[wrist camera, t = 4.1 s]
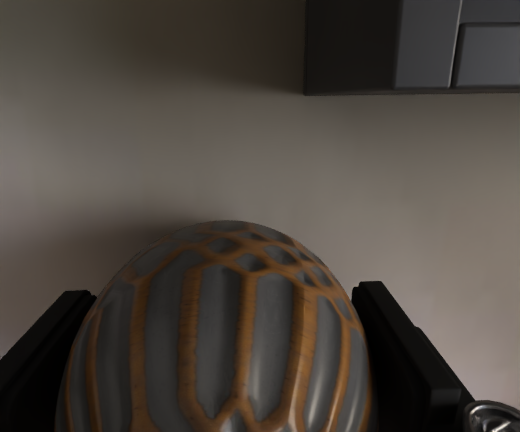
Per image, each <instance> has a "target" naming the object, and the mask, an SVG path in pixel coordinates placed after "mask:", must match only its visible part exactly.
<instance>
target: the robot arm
mask: <svg viewBox="0 0 520 432" xmlns="http://www.w3.org/2000/svg"><path fill="white" fill-rule="evenodd" d="M96 299H97V297H96V296H95V295H91V293H90V291H88V290H75V291H65V292H64V293H63V294H62V295H61V296H60V297H59V298H58V299H57V300H56V301H55V302H54V303H53V304H52V305H51V306H50V307H49V309H48V310H47V311H46V312H45V313H44V314H43V315H42V316H41V317H40V318H39V319H38V320H37V321H36V322H35V323H34V325H33V326H32V327H31V328H30V329H29V330H28V331H27V332H26V333H25V334H24V335H23V336H22V337H21V338H20V339H19V340H18V342H17V343H16V344H15V345H14V346H13V347H12V348H11V349H10V350H9V351H8V352H7V353H6V354H5V355H4V356H3V357H2V359H1V360H0V432H54V419H55V412H56V405H57V399H58V393H59V388H60V384H61V380H62V376H63V372H64V368H65V365H66V362H67V359H68V356H69V353H70V350H71V347H72V344H73V341H74V339H75V337H76V335H77V333H78V330H79V328H80V326H81V324H82V322H83V320H84V318H85V316H86V315H87V313H88V311H89V310H90V308H91V307H92V305H93V304H94V302H95V301H96ZM351 302H352V304H353V306H354V308H355V310H356V312H357V314H358V316H359V319H360V321H361V323H362V325H363V328H364V330H365V333H366V336H367V339H368V342H369V346H370V350H371V353H372V358H373V362H374V368H375V374H376V382H377V392H378V408H379V430H378V432H520V411H519V410H517V409H516V408H514V407H511V406H508V405H506V404H503V403H500V402H495V401H490V400H479V401H475V399H474V398H473V397H472V395H471V394H470V393H469V391H468V390H467V389H466V388H465V386H464V385H463V384H462V382H461V381H460V380H459V378H458V377H457V376H456V374H455V373H454V372H453V370H452V369H451V368H450V367H449V365H448V364H447V363H446V361H445V360H444V359H443V357H442V356H441V355H440V353H439V352H438V351H437V349H436V348H435V347H434V345H433V344H432V343H431V342H430V340H429V339H428V338H427V336H426V335H425V334H424V332H423V331H422V330H421V329H420V328H418V327H415V326H414V325H413V323H412V322H411V321H410V319H409V318H408V316H407V315H406V314H405V312H404V311H403V310H402V308H401V307H400V306H399V304H398V303H397V302H396V300H395V299H394V298H393V296H392V295H391V294H390V292H389V291H388V290H387V288H386V287H385V286H384V284H383V283H382V282H381V281H366V282H360V283H359V286H358V287H354V288H353V290H352V300H351Z"/></svg>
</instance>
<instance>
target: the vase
mask: <svg viewBox="0 0 520 432" xmlns="http://www.w3.org/2000/svg"><path fill="white" fill-rule="evenodd" d="M378 430H379V408H378V392H377V382H376V374H375V368H374V362H373V358H372V353H371V350H370V346H369V342H368V339H367V336H366V333H365V330H364V328H363V325H362V323H361V321H360V319H359V316H358V314H357V312H356V310H355V308H354V306H353V304H352V302H351V301H350V299H349V297H348V295H347V294H346V292H345V290H344V289H343V287H342V286H341V284H340V283H339V282H338V280H337V279H336V277H335V276H334V275H333V273H332V272H331V271H330V270H329V268H328V267H327V266H326V265H325V264H324V263H323V262H322V261H321V260H320V259H319V258H318V257H317V256H316V255H314V254H313V253H312V252H311V251H310V250H308V249H307V248H306V247H304V246H303V245H302V244H300V243H299V242H297V241H296V240H294V239H293V238H291V237H289V236H287V235H285V234H283V233H281V232H279V231H276V230H274V229H271V228H268V227H265V226H262V225H259V224H255V223H250V222H243V221H229V220H226V221H212V222H206V223H200V224H196V225H192V226H189V227H185V228H182V229H180V230H177V231H175V232H172V233H170V234H168V235H166V236H164V237H162V238H161V239H159V240H157V241H155V242H154V243H152V244H150V245H149V246H147V247H146V248H144V249H143V250H142V251H140V252H139V253H138V254H136V255H135V256H134V257H133V258H132V259H131V260H130V261H129V262H128V263H127V264H126V265H125V266H124V267H123V268H122V269H121V270H120V271H119V272H118V273H117V274H116V275H115V276H114V277H113V278H112V280H111V281H110V282H109V283H108V284H107V286H106V287H105V288H104V289H103V291H102V292H101V293H100V295H99V296H98V297H97V299H96V301H95V302H94V304H93V305H92V307H91V308H90V310H89V311H88V313H87V315H86V316H85V318H84V320H83V322H82V324H81V326H80V328H79V330H78V333H77V335H76V337H75V339H74V341H73V344H72V347H71V350H70V353H69V356H68V359H67V362H66V365H65V368H64V372H63V376H62V380H61V384H60V388H59V393H58V399H57V405H56V412H55V419H54V432H378Z"/></svg>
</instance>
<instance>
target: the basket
mask: <svg viewBox="0 0 520 432" xmlns="http://www.w3.org/2000/svg"><path fill="white" fill-rule="evenodd" d="M476 93H520V0H306V6H305V48H304V89H303V94H304V95H305V96H327V95H402V94H476Z"/></svg>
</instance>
